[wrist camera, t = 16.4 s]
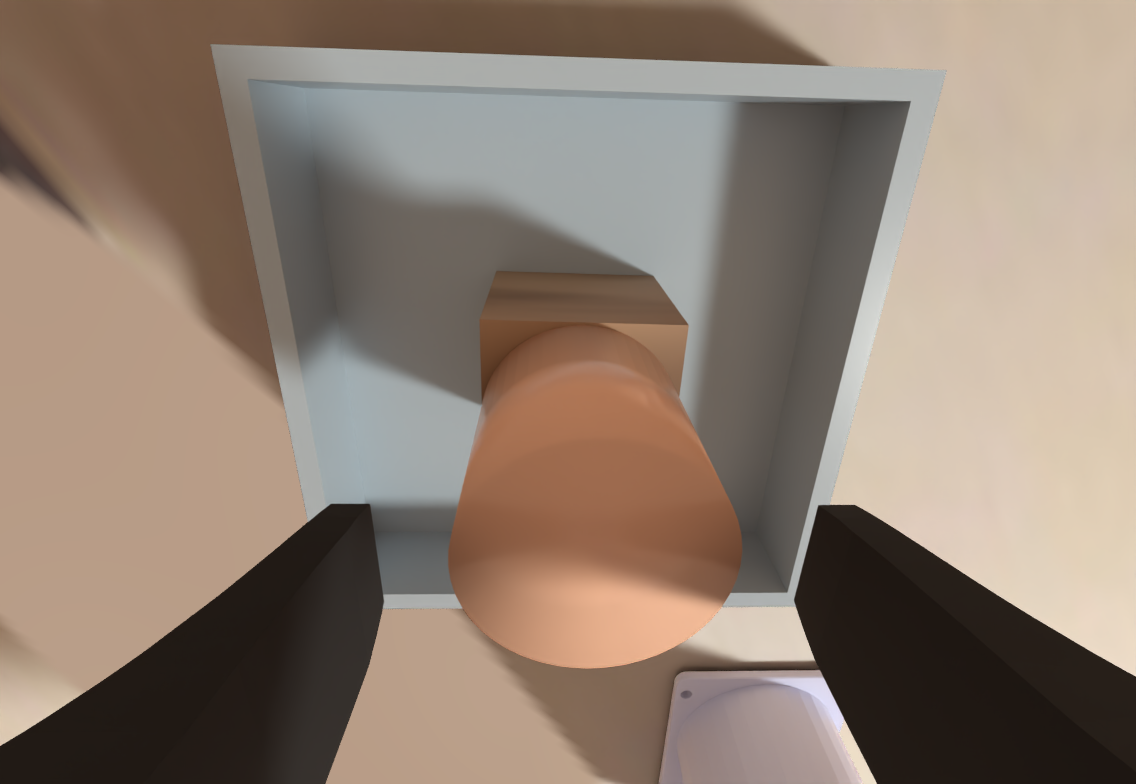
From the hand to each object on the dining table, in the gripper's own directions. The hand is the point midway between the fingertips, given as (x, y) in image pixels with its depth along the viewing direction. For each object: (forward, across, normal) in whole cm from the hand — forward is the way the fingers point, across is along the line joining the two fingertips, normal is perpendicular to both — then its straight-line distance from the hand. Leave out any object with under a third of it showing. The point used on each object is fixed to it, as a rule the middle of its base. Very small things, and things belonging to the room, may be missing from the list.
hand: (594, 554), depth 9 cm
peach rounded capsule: (+5, 0, 0) cm, 5 cm away
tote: (+10, 0, 0) cm, 10 cm away
